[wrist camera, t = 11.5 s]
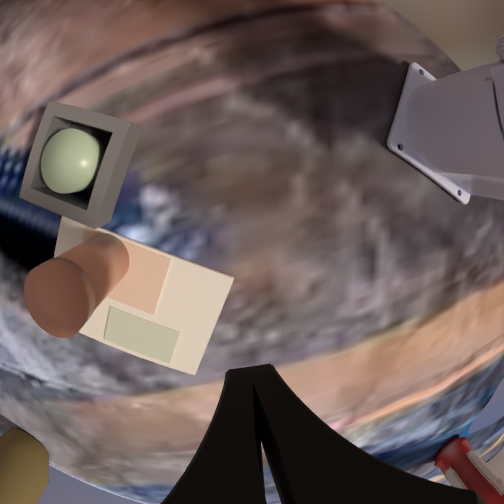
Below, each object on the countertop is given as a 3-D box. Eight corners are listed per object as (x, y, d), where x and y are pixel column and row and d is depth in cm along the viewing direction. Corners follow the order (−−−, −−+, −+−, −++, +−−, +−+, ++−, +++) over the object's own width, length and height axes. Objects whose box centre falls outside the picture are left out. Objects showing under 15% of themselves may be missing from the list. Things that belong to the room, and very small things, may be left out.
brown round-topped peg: (135, 242, 16) (89, 282, 10) (124, 290, 17) (81, 348, 10) (89, 225, 16) (26, 253, 9) (80, 273, 16) (23, 320, 10)
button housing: (143, 129, 15) (131, 122, 13) (110, 222, 16) (95, 229, 14) (67, 108, 14) (49, 100, 12) (39, 194, 15) (19, 197, 13)
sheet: (234, 276, 18) (234, 278, 18) (195, 372, 20) (194, 376, 19) (64, 212, 16) (61, 213, 15) (48, 314, 17) (46, 317, 17)
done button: (114, 141, 14) (102, 136, 13) (95, 199, 15) (81, 201, 13) (68, 127, 14) (53, 122, 12) (50, 182, 14) (34, 183, 12)
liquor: (465, 437, 30) (538, 529, 3) (433, 465, 31) (499, 562, 4) (461, 426, 28) (546, 530, 2) (425, 457, 29) (500, 569, 2)
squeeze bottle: (68, 468, 22) (38, 574, 4) (25, 456, 21) (-11, 545, 4) (36, 426, 20) (-16, 543, 2) (-6, 415, 19) (-59, 508, 2)
